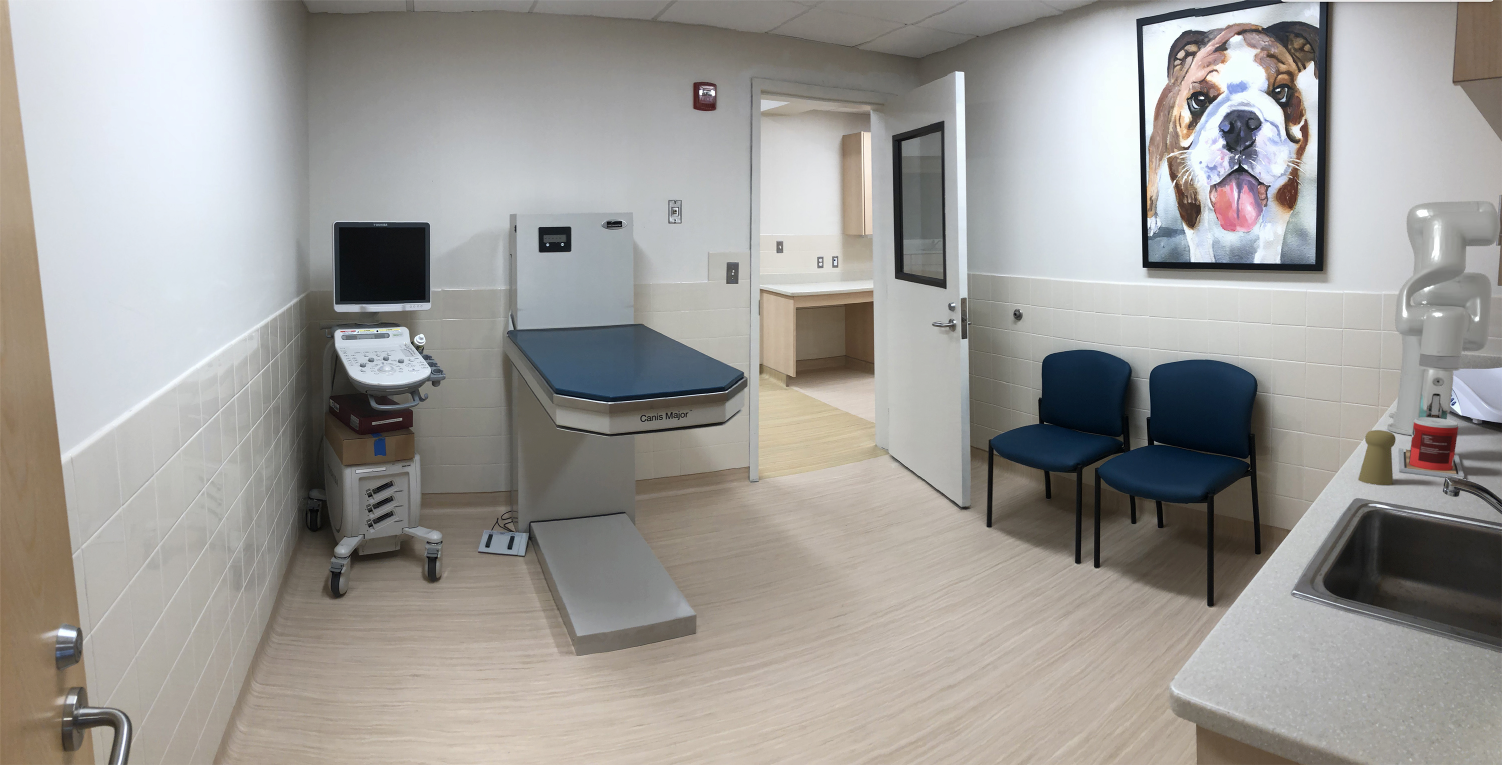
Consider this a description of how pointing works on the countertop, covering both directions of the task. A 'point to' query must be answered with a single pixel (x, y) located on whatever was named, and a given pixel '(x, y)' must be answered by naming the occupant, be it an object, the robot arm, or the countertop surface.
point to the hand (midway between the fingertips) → (1430, 438)
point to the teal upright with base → (1421, 414)
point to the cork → (1378, 458)
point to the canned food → (1433, 443)
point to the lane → (1429, 473)
